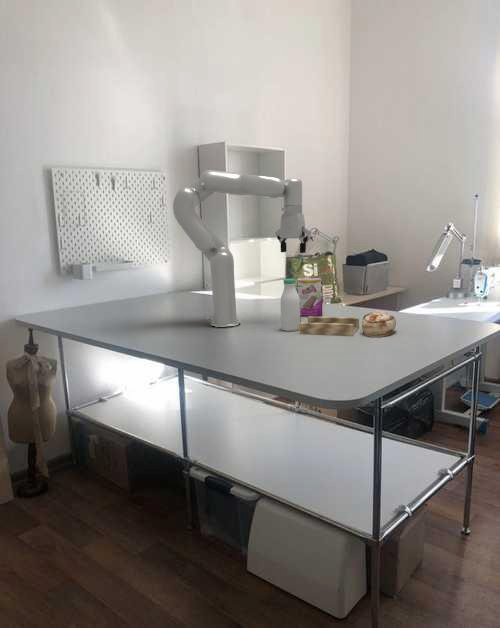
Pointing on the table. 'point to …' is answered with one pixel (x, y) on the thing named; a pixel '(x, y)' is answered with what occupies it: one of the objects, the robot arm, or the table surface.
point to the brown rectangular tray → (330, 326)
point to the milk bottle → (290, 307)
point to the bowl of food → (378, 324)
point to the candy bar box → (310, 296)
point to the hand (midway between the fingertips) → (293, 252)
